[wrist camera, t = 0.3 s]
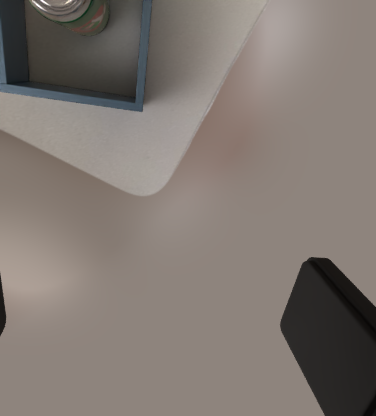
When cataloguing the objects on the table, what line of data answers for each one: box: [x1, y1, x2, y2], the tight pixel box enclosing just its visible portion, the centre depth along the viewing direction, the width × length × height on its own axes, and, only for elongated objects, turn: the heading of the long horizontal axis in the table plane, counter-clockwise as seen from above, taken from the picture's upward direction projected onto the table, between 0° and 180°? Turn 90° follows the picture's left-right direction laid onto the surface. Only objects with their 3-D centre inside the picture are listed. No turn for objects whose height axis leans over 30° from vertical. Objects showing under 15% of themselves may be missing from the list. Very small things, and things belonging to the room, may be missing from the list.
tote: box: [0, 0, 152, 112], centre depth 28 cm, size 18×14×6 cm
